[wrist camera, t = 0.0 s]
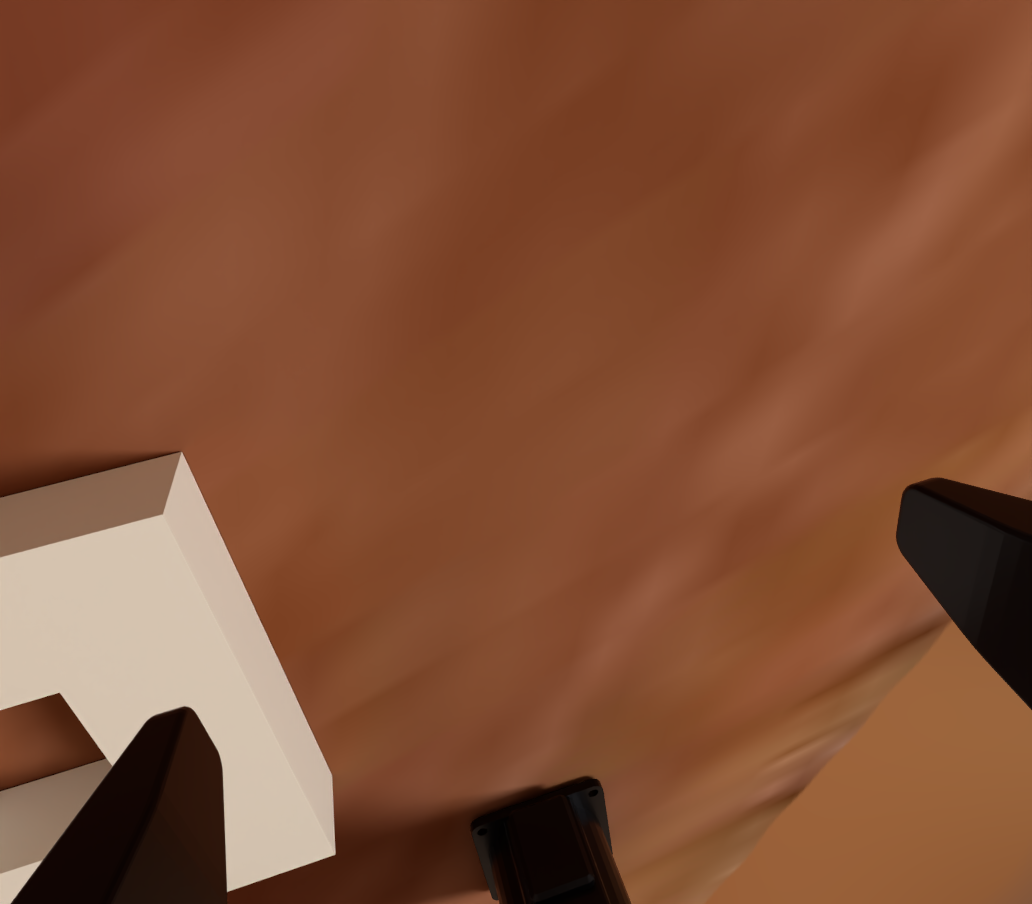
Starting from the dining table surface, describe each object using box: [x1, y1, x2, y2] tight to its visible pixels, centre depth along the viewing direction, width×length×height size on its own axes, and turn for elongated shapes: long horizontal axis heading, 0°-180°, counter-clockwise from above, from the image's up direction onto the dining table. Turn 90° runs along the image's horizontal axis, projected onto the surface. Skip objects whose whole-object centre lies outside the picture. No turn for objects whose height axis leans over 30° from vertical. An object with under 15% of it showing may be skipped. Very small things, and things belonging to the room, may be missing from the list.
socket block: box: [0, 452, 335, 904], centre depth 23 cm, size 16×16×4 cm
